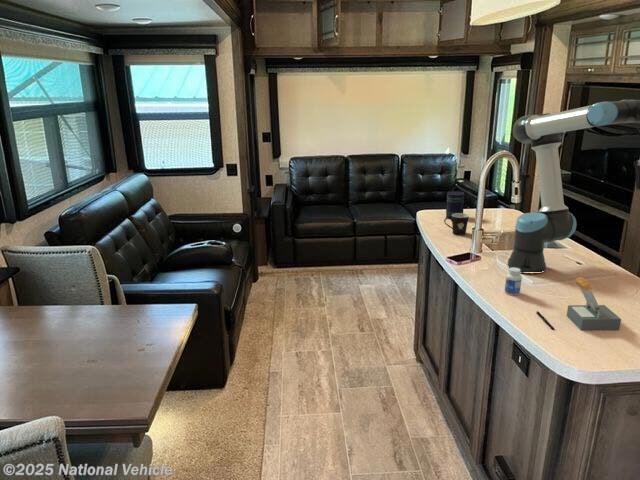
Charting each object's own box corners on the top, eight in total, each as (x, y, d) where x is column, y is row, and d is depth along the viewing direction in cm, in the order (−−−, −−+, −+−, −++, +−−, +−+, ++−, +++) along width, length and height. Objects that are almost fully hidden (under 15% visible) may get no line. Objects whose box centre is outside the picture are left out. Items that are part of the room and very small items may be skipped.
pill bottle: (501, 291, 180) (503, 268, 177) (512, 288, 182) (514, 265, 179) (512, 297, 175) (514, 273, 172) (523, 294, 177) (525, 270, 174)
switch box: (602, 315, 160) (605, 298, 158) (619, 330, 150) (622, 312, 148) (566, 315, 160) (569, 298, 158) (580, 330, 151) (583, 312, 149)
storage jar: (446, 219, 274) (447, 194, 269) (444, 215, 283) (446, 191, 278) (464, 220, 272) (465, 195, 267) (461, 215, 281) (463, 191, 276)
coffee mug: (469, 232, 250) (470, 214, 247) (464, 236, 243) (466, 218, 240) (448, 229, 256) (449, 211, 253) (442, 233, 249) (443, 215, 246)
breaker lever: (594, 304, 156) (580, 276, 153) (603, 312, 151) (589, 283, 148) (588, 307, 157) (574, 279, 154) (597, 315, 151) (583, 286, 148)
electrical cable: (535, 313, 164) (535, 310, 163) (538, 312, 164) (538, 310, 163) (551, 330, 152) (551, 327, 152) (554, 330, 152) (554, 327, 152)
